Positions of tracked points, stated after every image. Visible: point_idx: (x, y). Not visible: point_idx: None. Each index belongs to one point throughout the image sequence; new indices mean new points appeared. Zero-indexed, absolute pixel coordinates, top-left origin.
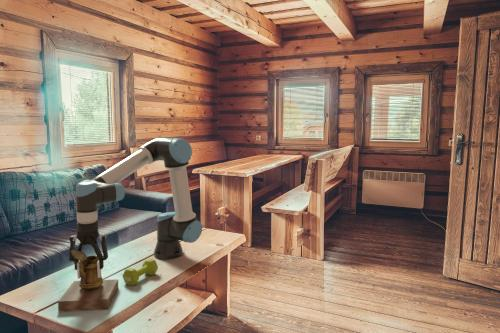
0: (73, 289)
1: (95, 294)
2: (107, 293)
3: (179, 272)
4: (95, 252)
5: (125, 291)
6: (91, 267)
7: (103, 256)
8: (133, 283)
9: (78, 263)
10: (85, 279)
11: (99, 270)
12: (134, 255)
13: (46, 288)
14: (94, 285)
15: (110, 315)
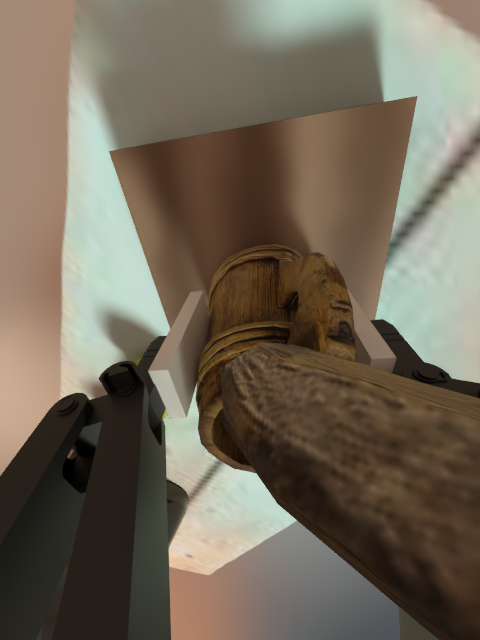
0: (350, 272)
1: (210, 215)
2: (153, 230)
3: None
4: (134, 504)
5: (152, 318)
6: (232, 331)
7: (64, 432)
8: (140, 358)
9: (374, 353)
10: (279, 270)
11: (176, 322)
12: (237, 495)
13: (471, 340)
14: (226, 262)
15: (83, 74)
